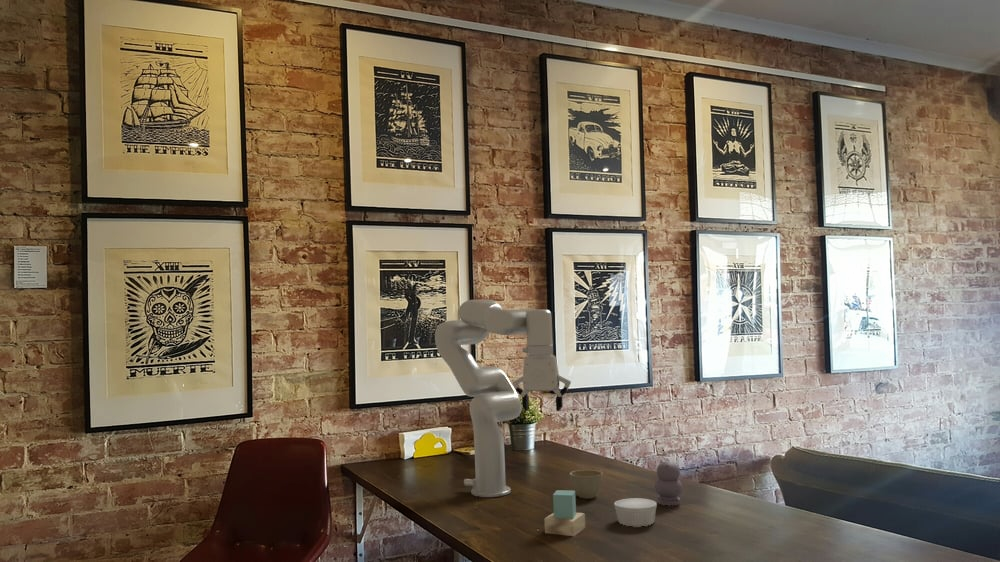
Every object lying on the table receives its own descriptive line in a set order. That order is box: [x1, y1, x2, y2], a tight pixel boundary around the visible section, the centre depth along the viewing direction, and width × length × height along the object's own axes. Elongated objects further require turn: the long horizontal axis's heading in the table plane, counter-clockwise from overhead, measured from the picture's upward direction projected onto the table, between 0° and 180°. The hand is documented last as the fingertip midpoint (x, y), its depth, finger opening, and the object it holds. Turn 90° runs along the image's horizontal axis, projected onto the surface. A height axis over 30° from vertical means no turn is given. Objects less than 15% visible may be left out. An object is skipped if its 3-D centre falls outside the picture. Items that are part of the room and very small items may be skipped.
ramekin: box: [613, 497, 658, 528], centre depth 197 cm, size 11×11×5 cm
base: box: [544, 512, 586, 537], centre depth 193 cm, size 8×8×4 cm
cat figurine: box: [654, 459, 683, 507], centre depth 216 cm, size 8×8×12 cm
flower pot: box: [569, 469, 604, 499], centre depth 227 cm, size 10×10×7 cm
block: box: [552, 489, 577, 519], centre depth 193 cm, size 5×5×6 cm
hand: (542, 410), depth 216 cm, fingers open, 9 cm apart
